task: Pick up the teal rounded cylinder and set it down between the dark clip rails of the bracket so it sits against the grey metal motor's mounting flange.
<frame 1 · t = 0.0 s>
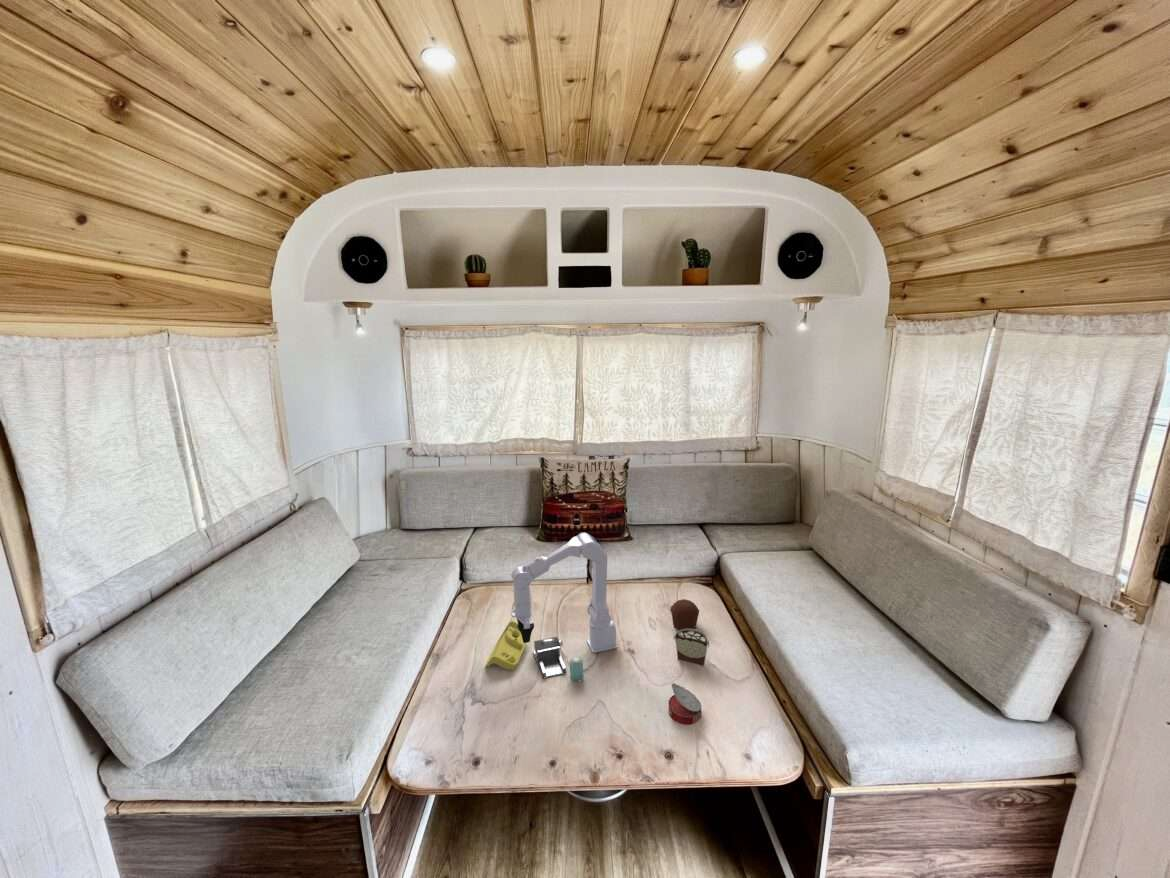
hand: (524, 635, 172), 10 cm above the table, fingers open, 7 cm apart
canned food: (684, 713, 149), on the table
plastic component: (509, 654, 179), on the table
teal rounded cylinder: (576, 677, 166), on the table
muffin: (684, 625, 193), on the table
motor: (547, 654, 178), on the table
food container: (692, 658, 174), on the table
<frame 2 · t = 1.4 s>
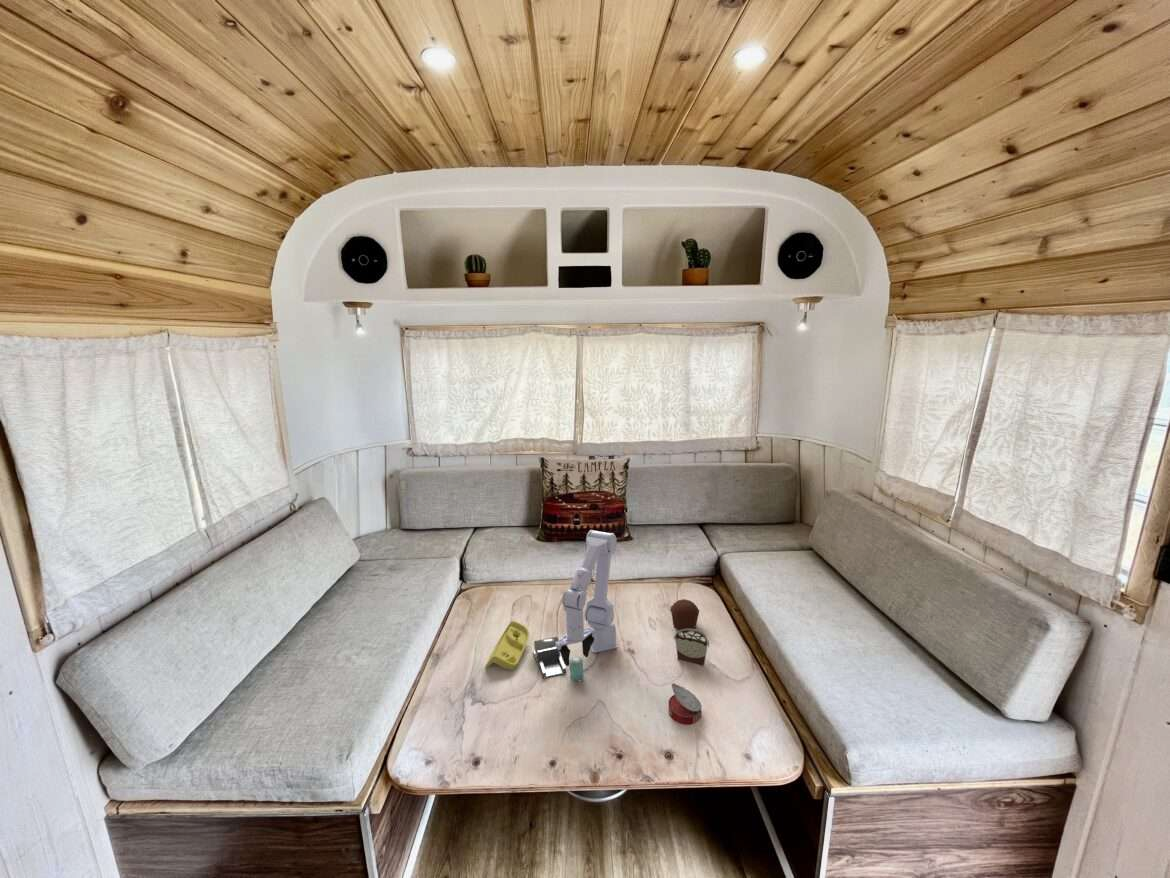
hand: (576, 660, 164), 7 cm above the table, fingers open, 7 cm apart
nothing on the table moved.
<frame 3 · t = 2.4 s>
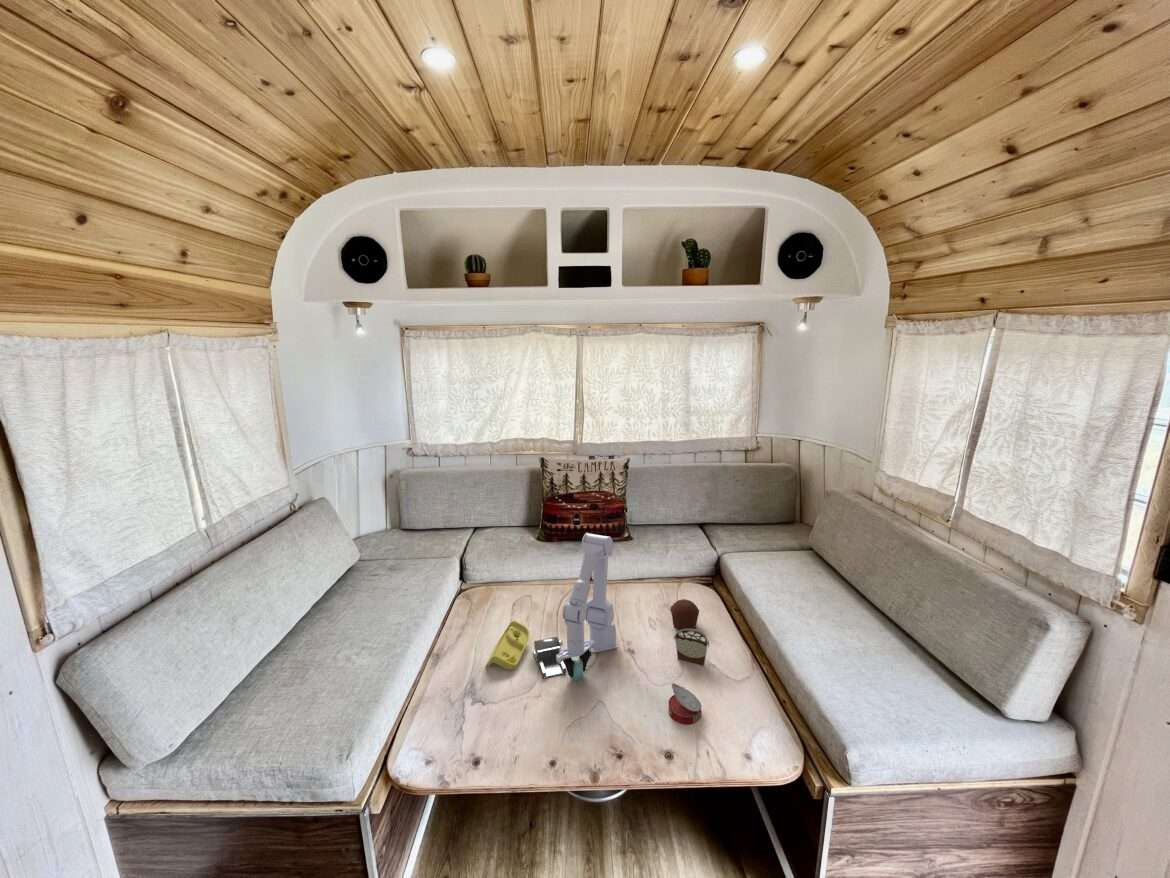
hand: (576, 672, 165), 2 cm above the table, fingers closed on teal rounded cylinder, 4 cm apart
teal rounded cylinder: (576, 676, 166), on the table, touching gripper
everything else where it was.
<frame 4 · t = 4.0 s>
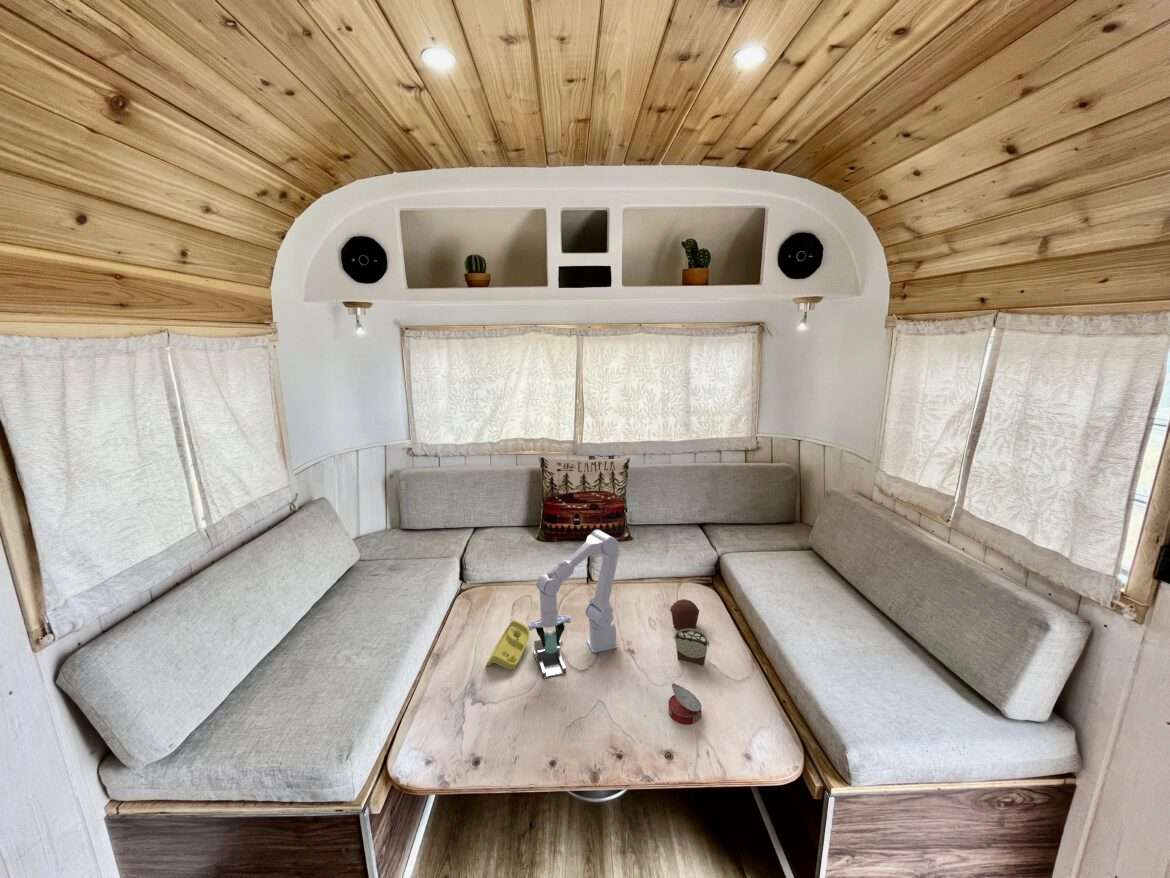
hand: (550, 644, 169), 9 cm above the table, fingers closed on teal rounded cylinder, 4 cm apart
teal rounded cylinder: (550, 649, 169), point 7 cm above the table, touching gripper
everything else where it was.
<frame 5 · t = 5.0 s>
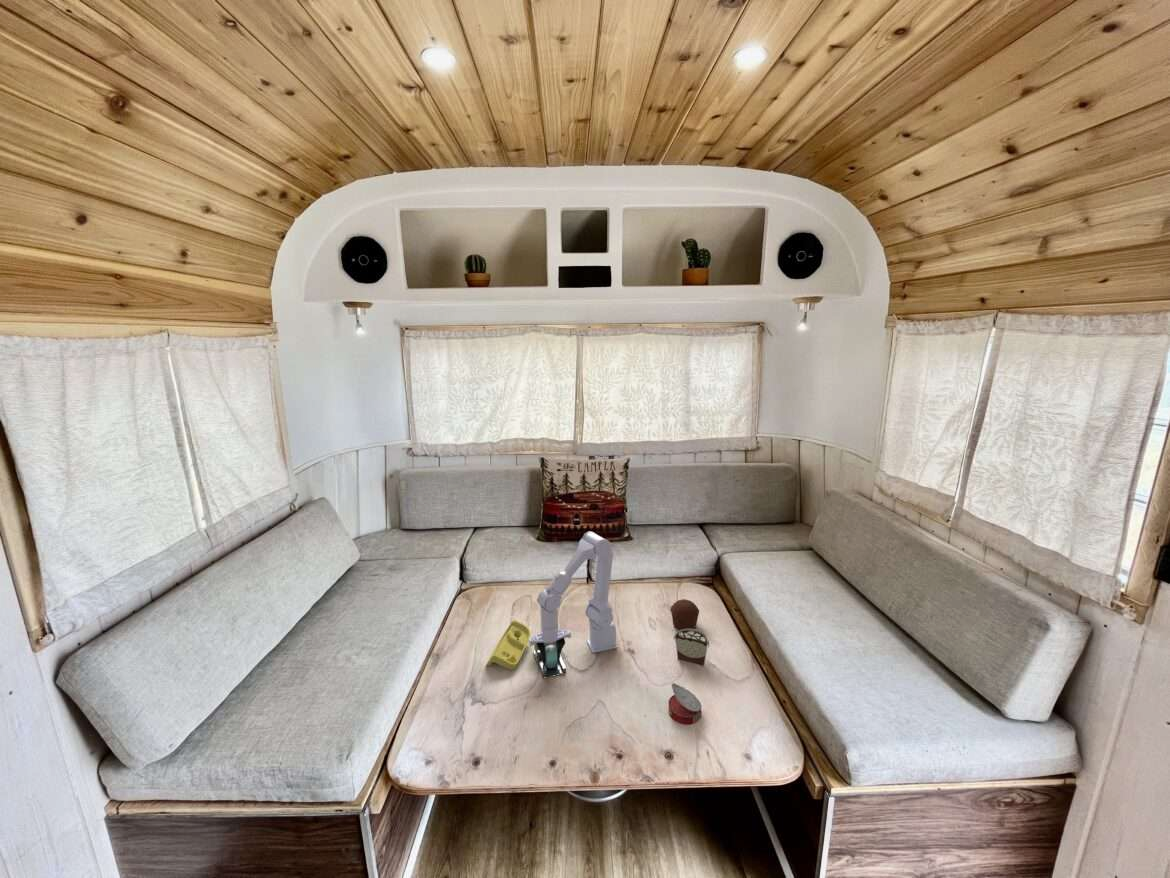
hand: (551, 658, 170), 3 cm above the table, fingers closed on teal rounded cylinder, 4 cm apart
teal rounded cylinder: (551, 664, 170), point 1 cm above the table, touching gripper
everything else where it was.
when the fingers open (3 cm above the table, at t = 5.5 s): teal rounded cylinder stays where it is, resting on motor.
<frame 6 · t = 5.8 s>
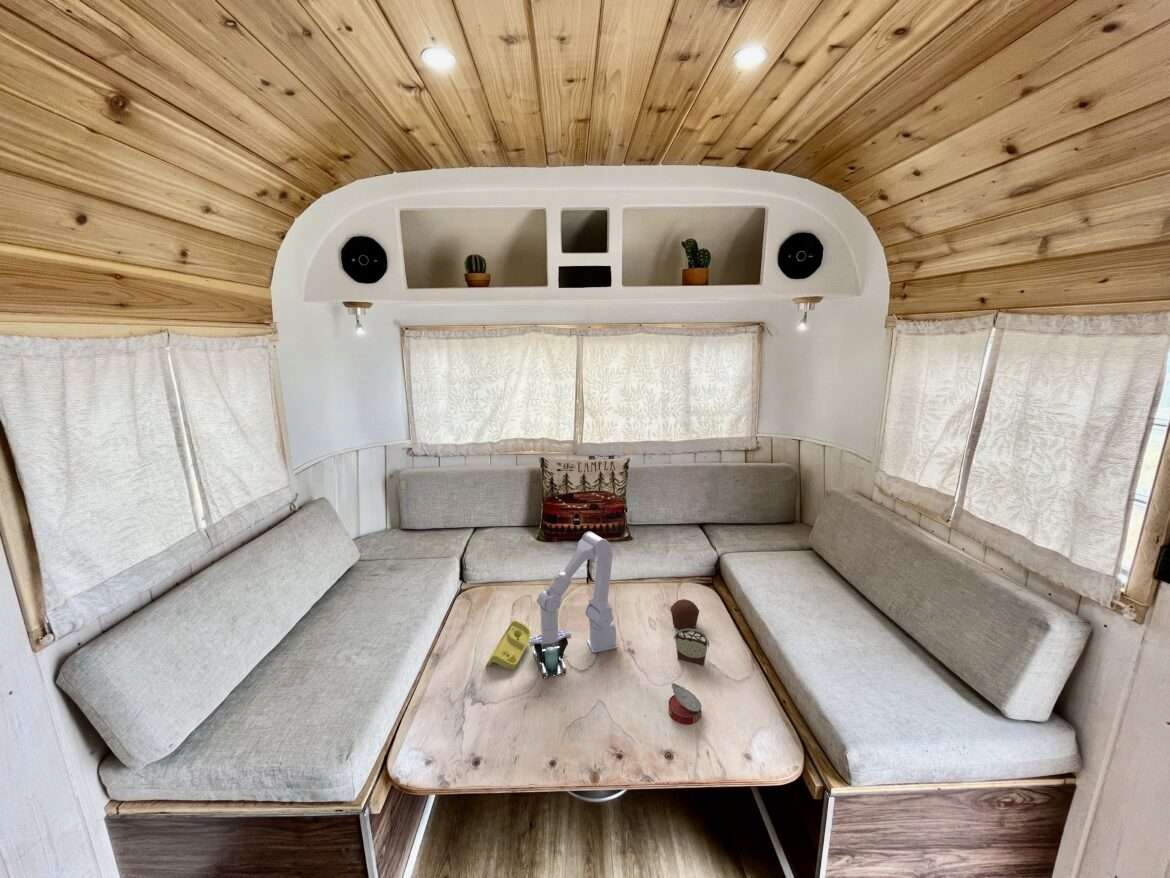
hand: (551, 659, 170), 3 cm above the table, fingers open, 6 cm apart
teal rounded cylinder: (551, 665, 171), point 1 cm above the table, touching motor
everything else where it was.
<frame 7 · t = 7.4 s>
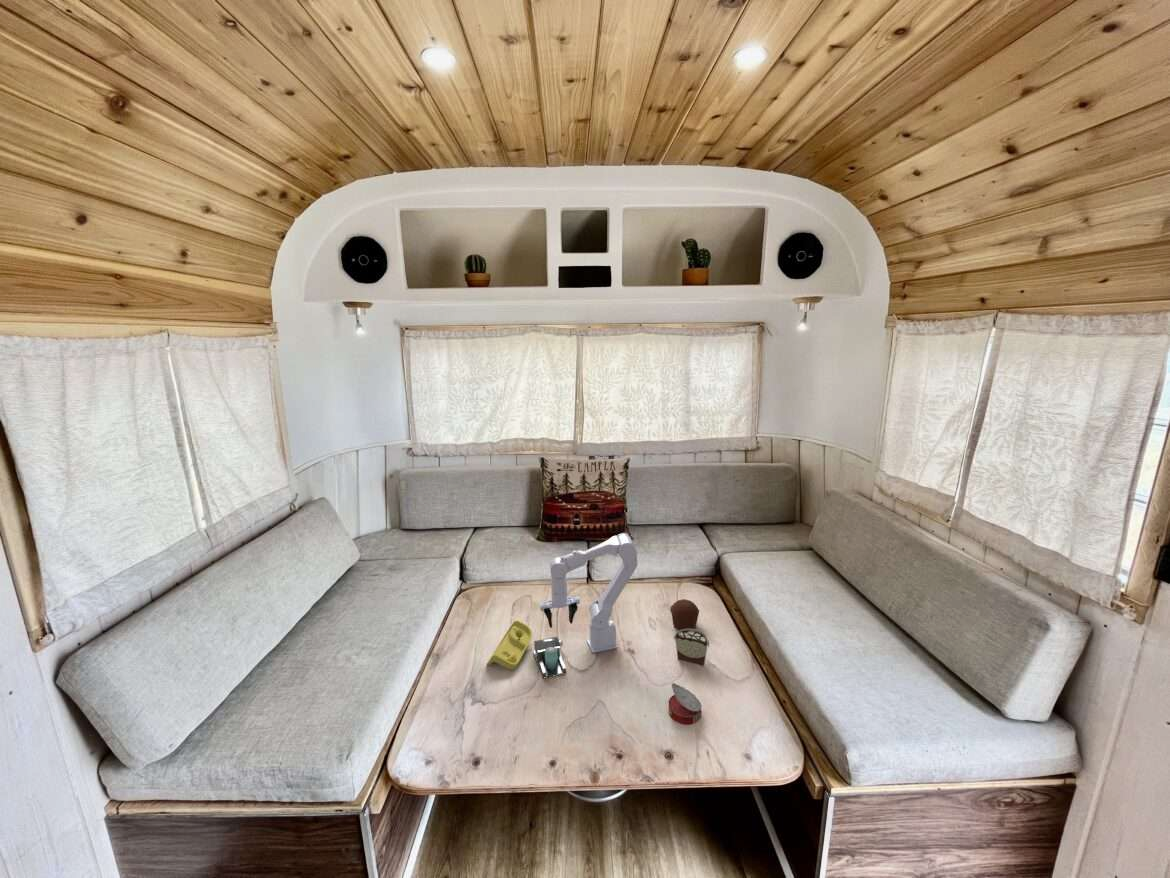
hand: (560, 624, 179), 10 cm above the table, fingers open, 7 cm apart
nothing on the table moved.
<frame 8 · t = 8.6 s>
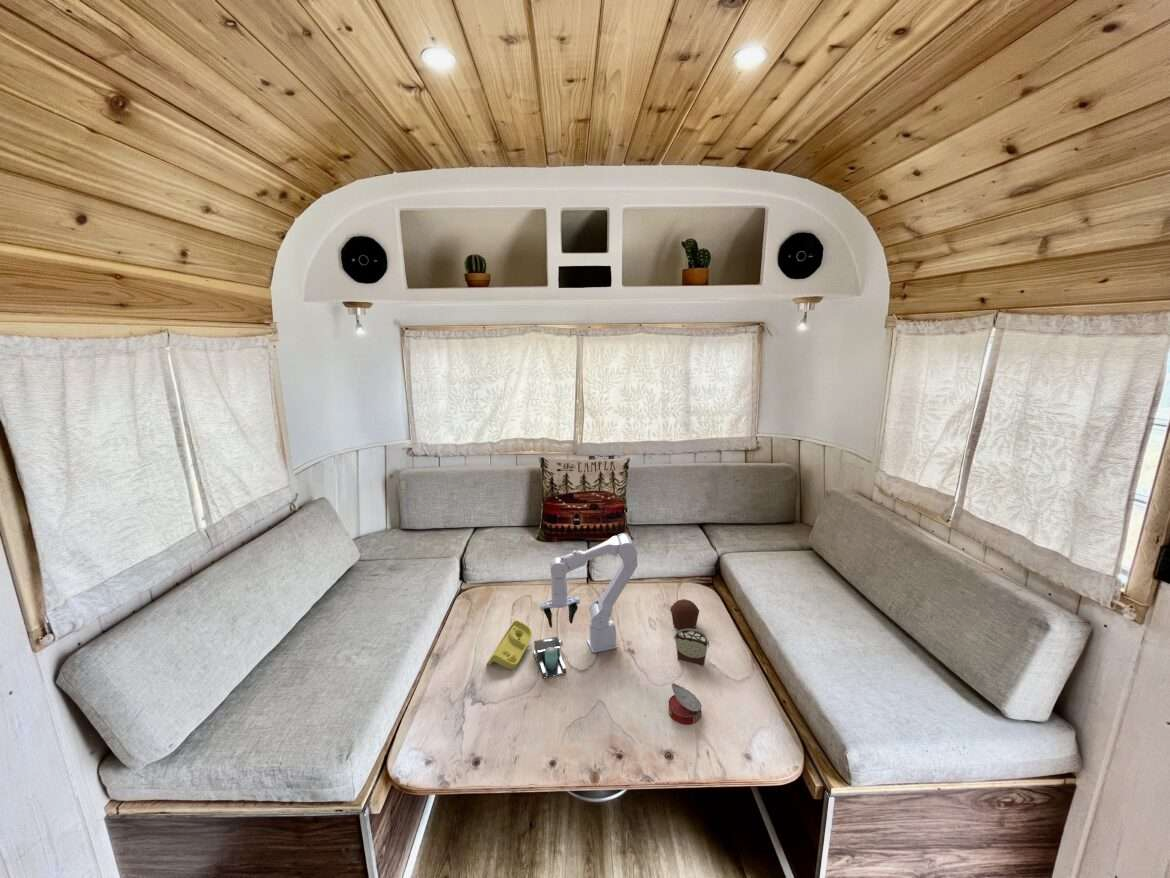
hand: (560, 624, 179), 10 cm above the table, fingers open, 7 cm apart
nothing on the table moved.
at the end: teal rounded cylinder 0.0 cm from the target spot on the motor, point 0.5 cm above the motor's base; teal rounded cylinder tilted 0°; the gripper is holding nothing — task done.
